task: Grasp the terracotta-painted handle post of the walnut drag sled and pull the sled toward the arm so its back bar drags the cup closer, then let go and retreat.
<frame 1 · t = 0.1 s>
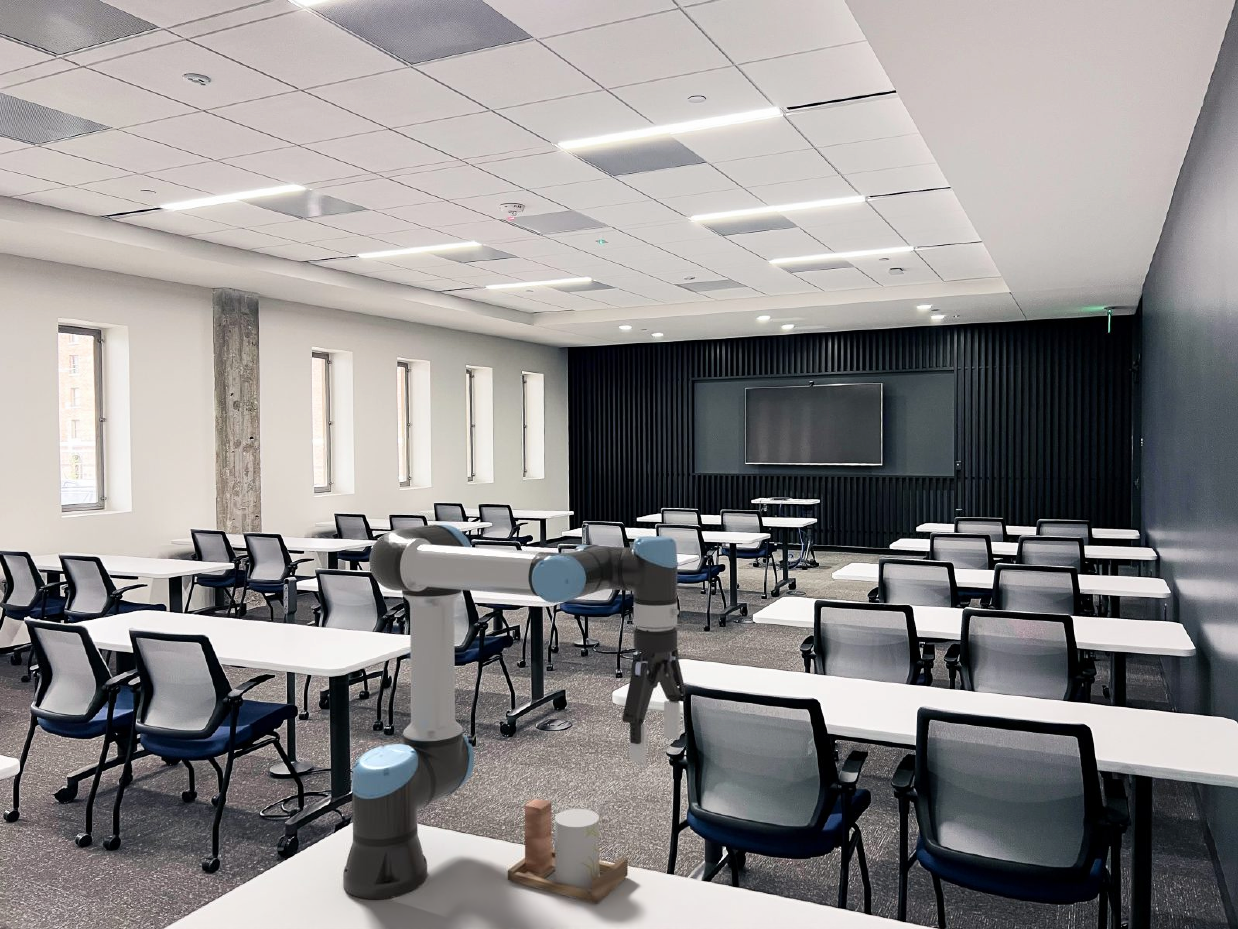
hand: (655, 749, 155), 28 cm above the table, fingers open, 13 cm apart
cup: (577, 883, 165), resting in sled
sled: (567, 844, 166), point 7 cm above the table, slide at 0.0 cm
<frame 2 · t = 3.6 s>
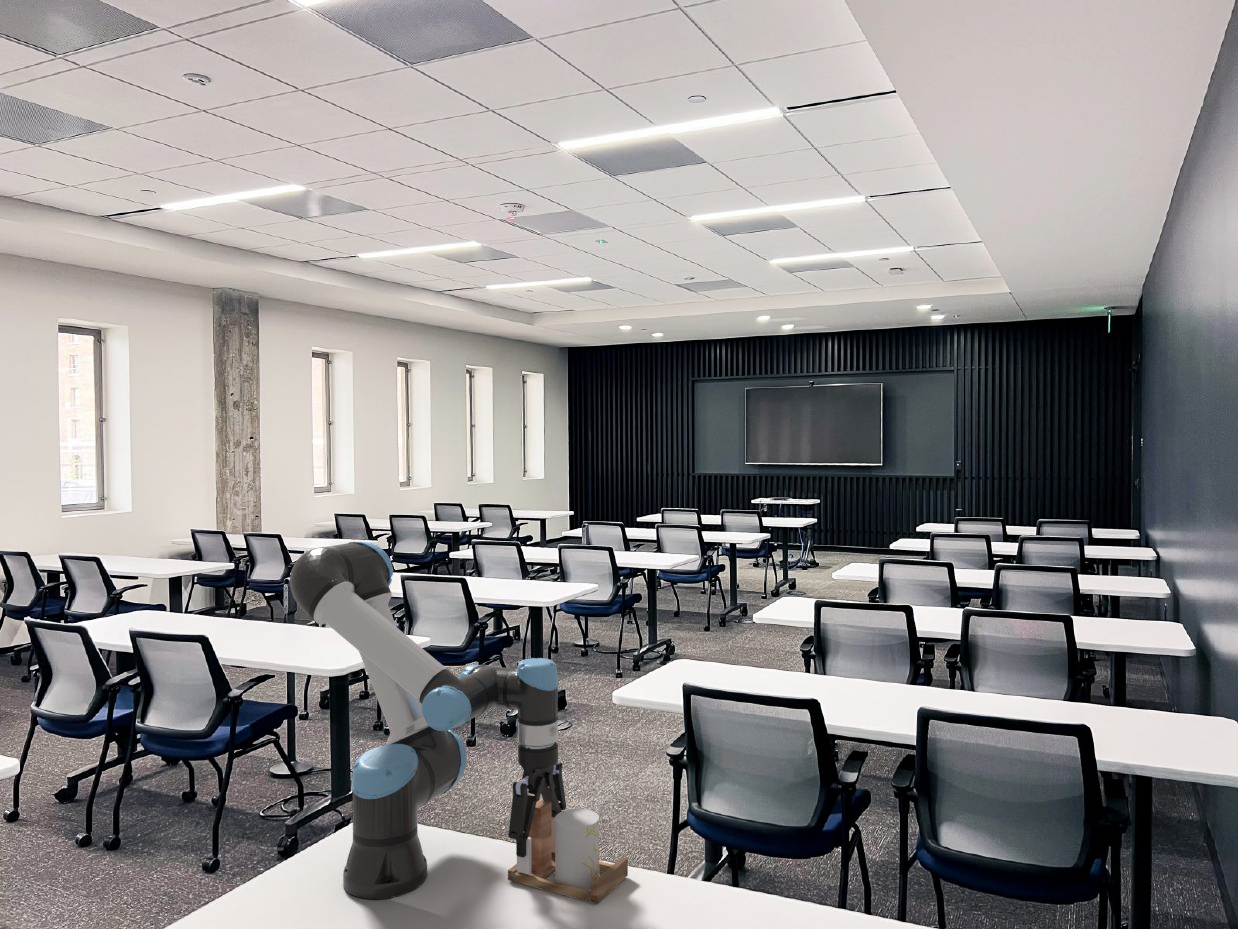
hand: (538, 861, 169), 2 cm above the table, fingers closed on sled, 9 cm apart
sled: (567, 844, 166), point 7 cm above the table, slide at 0.0 cm, touching gripper
everything else where it was.
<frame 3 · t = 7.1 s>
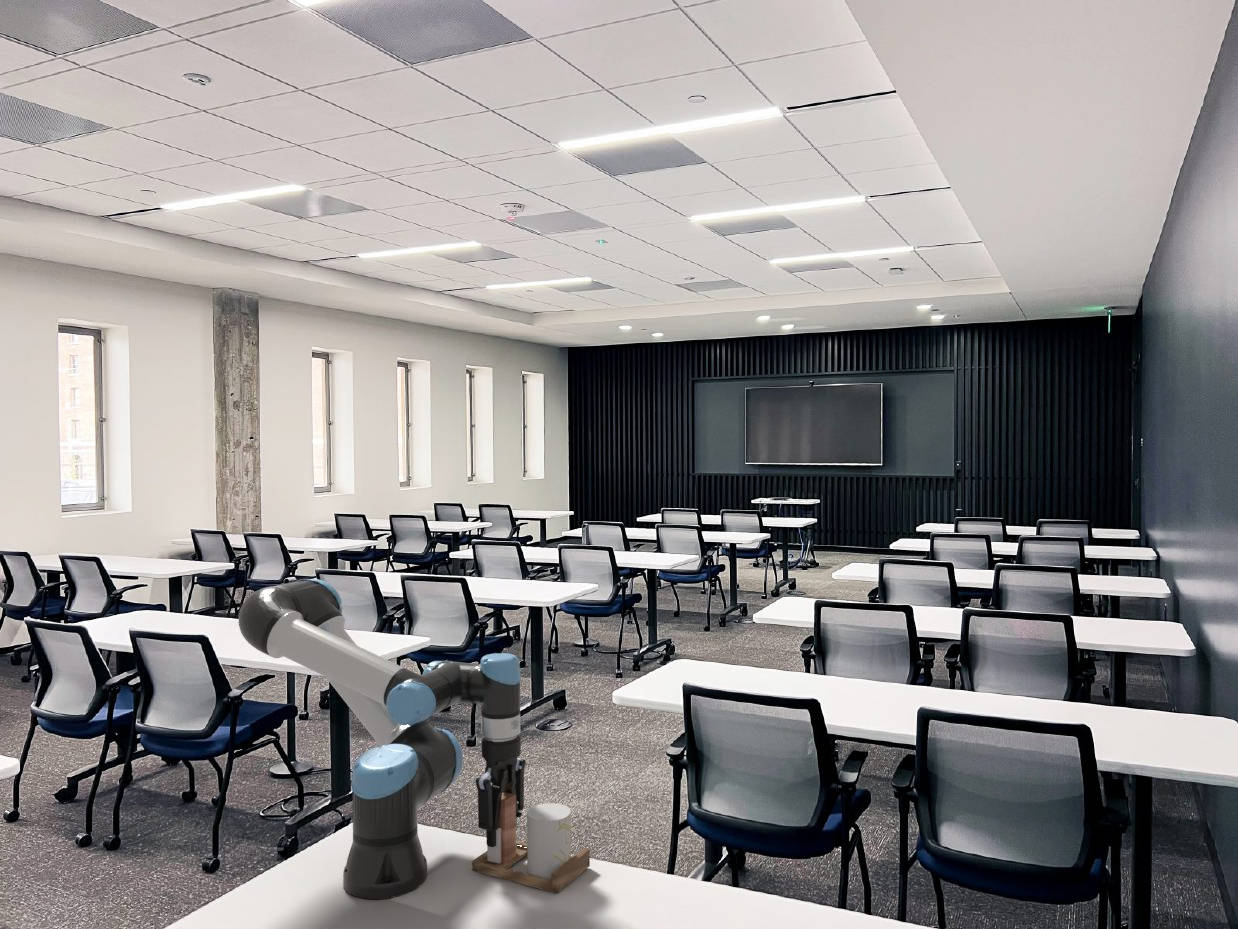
hand: (502, 856, 173), 1 cm above the table, fingers closed on sled, 4 cm apart
cup: (549, 876, 168), resting in sled
sled: (531, 835, 170), point 7 cm above the table, slide at 8.1 cm, touching gripper
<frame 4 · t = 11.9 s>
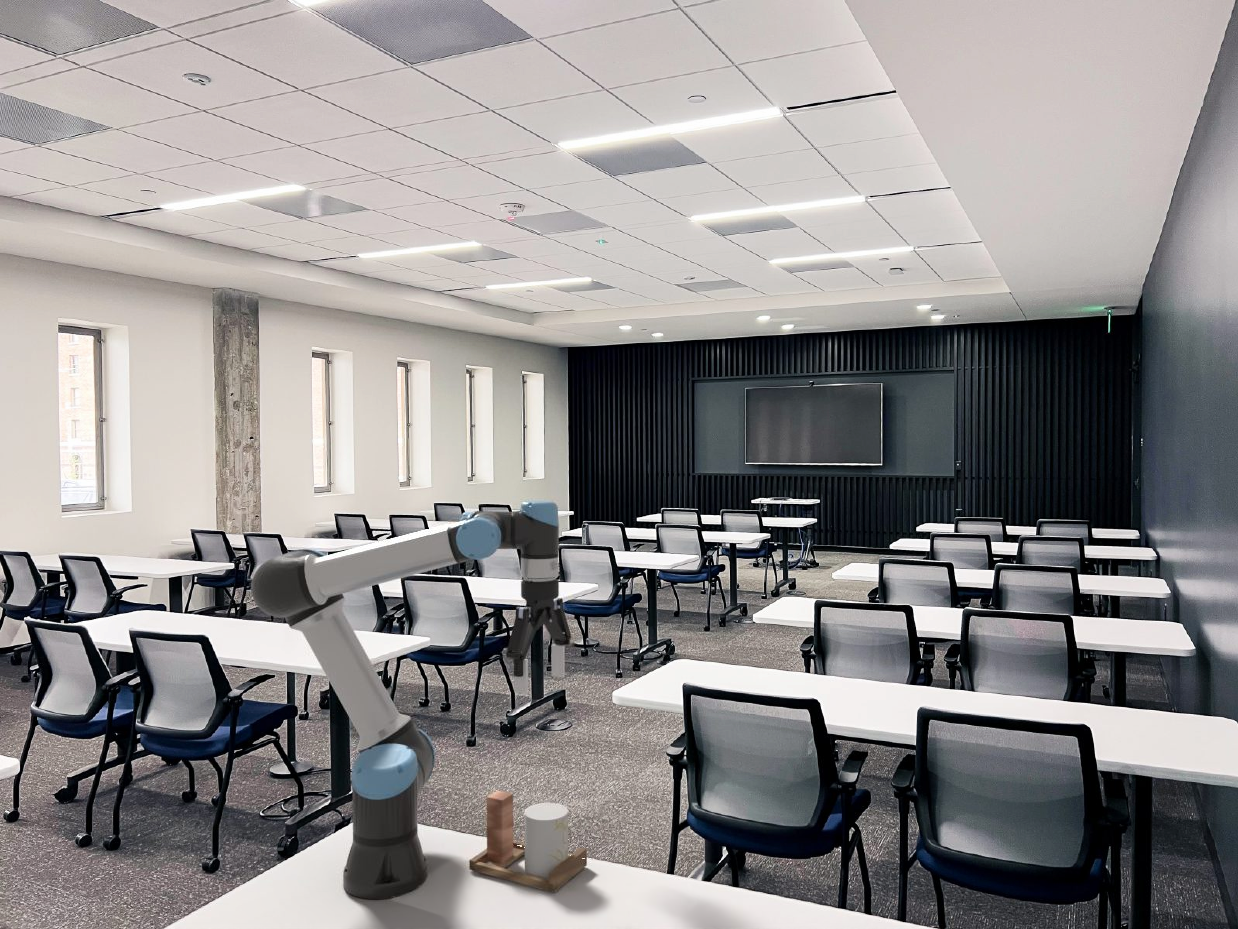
hand: (540, 684, 180), 33 cm above the table, fingers open, 13 cm apart
sled: (528, 834, 170), point 7 cm above the table, slide at 8.8 cm
at the end: sled slide at 8.8 cm; cup moved 6.6 cm from its start; cup tilted 0° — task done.
